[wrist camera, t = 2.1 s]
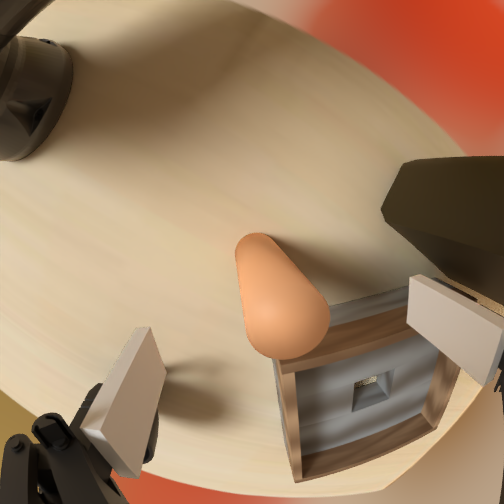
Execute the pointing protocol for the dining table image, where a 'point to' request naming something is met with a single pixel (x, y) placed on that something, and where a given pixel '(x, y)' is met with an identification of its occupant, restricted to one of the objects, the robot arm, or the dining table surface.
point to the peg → (278, 300)
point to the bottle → (454, 217)
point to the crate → (366, 397)
